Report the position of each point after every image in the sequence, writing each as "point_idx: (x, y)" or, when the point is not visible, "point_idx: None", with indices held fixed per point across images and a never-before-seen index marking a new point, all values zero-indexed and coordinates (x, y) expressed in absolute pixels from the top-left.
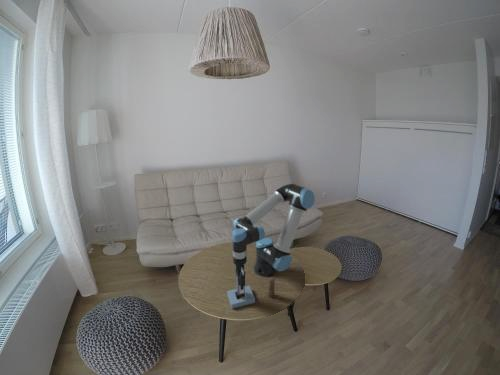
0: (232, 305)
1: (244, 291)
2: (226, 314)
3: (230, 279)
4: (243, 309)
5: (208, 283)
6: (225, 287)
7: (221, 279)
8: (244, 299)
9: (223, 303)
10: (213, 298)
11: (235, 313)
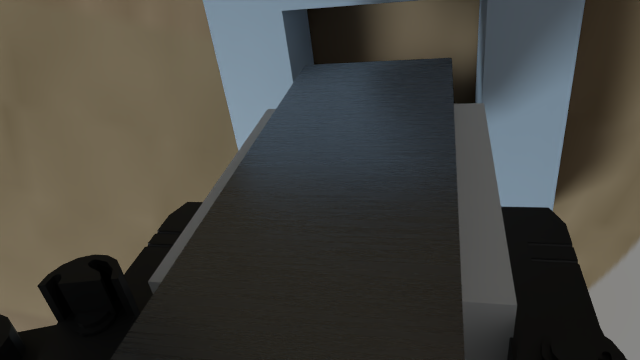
0: None
1: (452, 89)
2: (587, 281)
3: (12, 122)
4: (622, 72)
5: None
6: (154, 204)
7: (30, 215)
8: (529, 62)
9: None
10: None
11: (632, 192)
